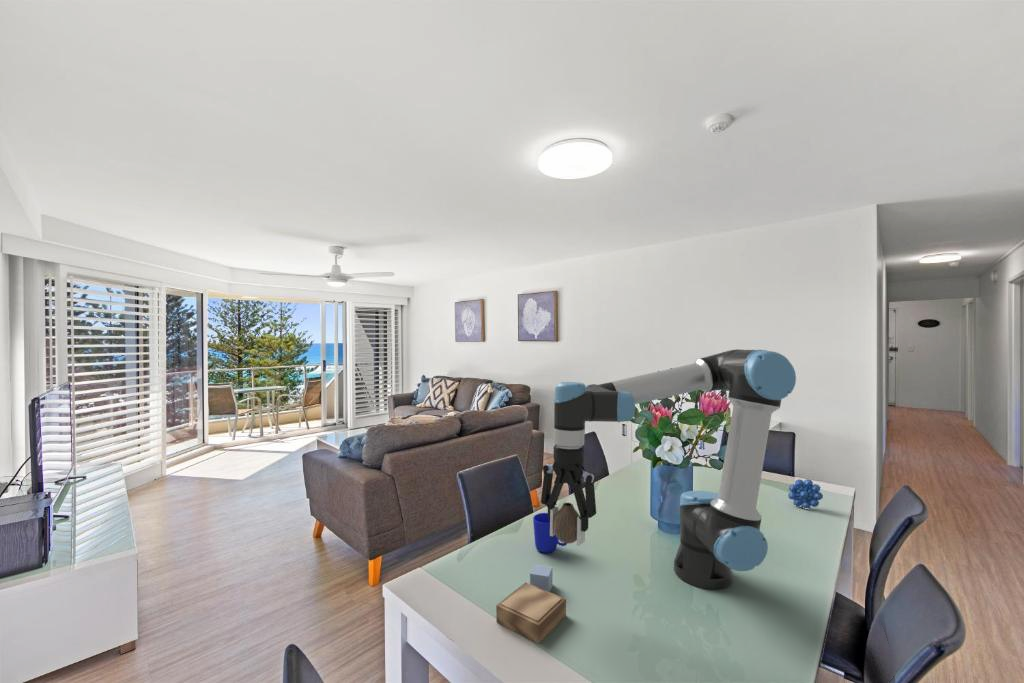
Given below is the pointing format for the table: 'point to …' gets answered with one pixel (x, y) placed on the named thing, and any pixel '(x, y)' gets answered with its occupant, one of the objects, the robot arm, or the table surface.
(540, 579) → the block
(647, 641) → the table surface
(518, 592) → the plinth
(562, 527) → the vase
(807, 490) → the grapes
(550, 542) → the mug
